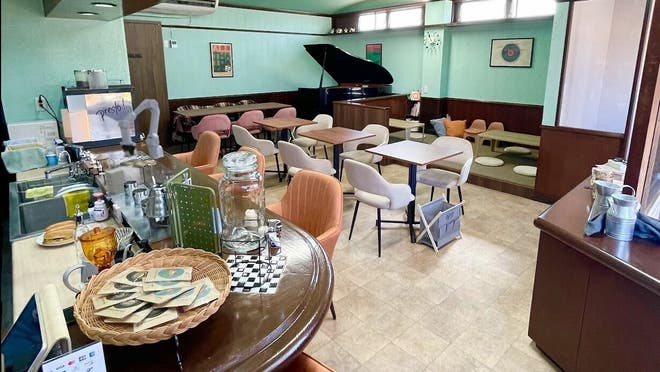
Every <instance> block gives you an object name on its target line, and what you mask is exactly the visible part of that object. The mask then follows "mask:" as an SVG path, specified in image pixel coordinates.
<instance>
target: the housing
mask: <svg viewBox="0 0 660 372" xmlns="http://www.w3.org/2000/svg"><path fill="white" fill-rule="evenodd" d="M134 151H136V148H135V149H134ZM122 152H123V153H124V155H123V157H124V158H130V157H134V156H137V153H135V152H134V155H131V154H130V151H129V149H127V150H122Z"/></svg>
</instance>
